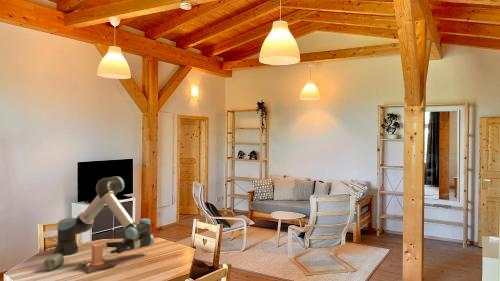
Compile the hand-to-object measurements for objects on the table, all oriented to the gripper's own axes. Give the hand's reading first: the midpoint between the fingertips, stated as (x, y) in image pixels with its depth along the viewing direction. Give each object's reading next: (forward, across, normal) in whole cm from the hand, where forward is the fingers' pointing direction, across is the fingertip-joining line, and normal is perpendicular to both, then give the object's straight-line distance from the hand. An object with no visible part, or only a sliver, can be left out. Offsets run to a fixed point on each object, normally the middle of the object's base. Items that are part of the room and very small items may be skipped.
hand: (100, 250), depth 233 cm
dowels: (+9, 0, -9) cm, 13 cm away
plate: (+3, 0, -10) cm, 11 cm away
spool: (+23, +16, -10) cm, 30 cm away
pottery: (-35, +27, -10) cm, 45 cm away
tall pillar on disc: (+2, 0, -9) cm, 9 cm away
